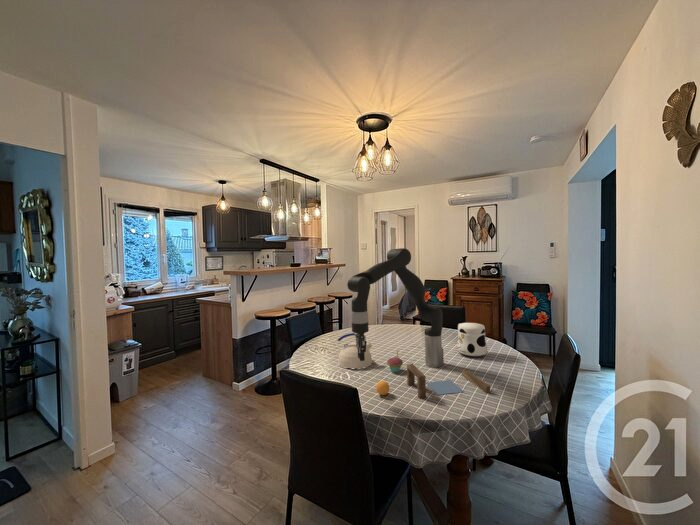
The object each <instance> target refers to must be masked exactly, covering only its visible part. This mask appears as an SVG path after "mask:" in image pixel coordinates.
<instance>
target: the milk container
mask: <svg viewBox="0 0 700 525" xmlns="http://www.w3.org/2000/svg"><path fill="white" fill-rule="evenodd" d="M457 336H458V338H457V343H456V349H457V351H458V353H459V354H461V355H462V356H466V357H472V358H476V357H477V358H479V357H483V356H486V354H487V352H488V345H487V341H486V328H485V325H484V324H482V323H477V322H462V323H458V324H457Z"/></svg>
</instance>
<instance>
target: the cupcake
mask: <svg viewBox="0 0 700 525" xmlns="http://www.w3.org/2000/svg"><path fill="white" fill-rule="evenodd" d="M396 350H397V351H396V356H394V357H390V358H388V359H387V360H386V365H388V366H389V369H390V371H391V372H393V373H399V372H400V370H401V367H402V366H403V365H404V363H403V360H402V359H401V358H400V357H398V356H399V349H396Z"/></svg>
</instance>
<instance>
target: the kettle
mask: <svg viewBox="0 0 700 525" xmlns="http://www.w3.org/2000/svg"><path fill="white" fill-rule="evenodd" d="M355 334H357V333H354V332H352V333H347V334H344V335H342V336H340V337H339V338H338V339H337V341H338V342H340V341H342V339H345V338H347V337H351V336H353V337H354V336H355ZM371 348H373V345H372V344H371V343H370V341H369V342H368V343H366V352H364V354H365V360H364V361H360V359H359V358H358V350H357V347H356V342H352V343H346V344H344V346H343V348H342V349H341V350H340V352H339V355H338V362H337V364H338V363H339V364H340V365H341V366H343V367H347V368H363V367H367V366H369V365H370V366H372V364H373V360H372V354H371V352H370V349H371ZM362 350H363V349H362ZM371 363H372V364H371ZM370 366H369V367H370ZM367 368H368V367H367ZM363 369H364V368H363Z"/></svg>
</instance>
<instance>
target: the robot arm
mask: <svg viewBox="0 0 700 525" xmlns="http://www.w3.org/2000/svg"><path fill="white" fill-rule="evenodd" d="M386 259H387V260H384V261H382V262H379V263H377V264H375V265H373V266H371V267H369V268H368V269H366V270H364V271H362V272H359V273H357V274H354V275H353V276H351V277H350V278H349V279H348V281H347V283H346V284H347V285H346V286H347V288H348V291H350V292H353V293H357V294H356V297H354V298H352V299H351V316H350V317H351V332H352V333H357V334H355V335H354V337H355V343H356V347H357V350H358V358H359V359H360V361H364V360H365V354H364V352H366V344H368V343H367V338H366V336H365V333H368V332H369V330H370V329H369V313H368V299H369V295H370V292H371V291H370V290H371V285H373V284H375V283H377V282H378V281H380V280H381V279H382V278H384V277H386V276H387V275H389V274H391V273H393V272H395V274H396V275H397V277H398V279H399V280H400V281H401V283H402V284H403V286H404V288H405V289H406V291H407V293H408V295H409V296H410V298H411V299H412V301H413V303H414V304H415V307H416V309H417V311H418V313H419V316H420V318H421V319H422V320H423V321H424V322H427V323H430V324H431V327H427V328H425V329H424V354H425V355H424V356H425V357H424V358H425V359H424V360H425V362H424V363H425V365H426V366H427V367H430V368H431V367H432V368H440V367H443V366H444V365H445V361H444V360H445V358H444V348H443V346H442V342H443V341H442V331H443V320H444V319H443V316H444V314H443V310H442V308H441V307H439V306H432V305H429V304H428V303H427V301H426V300H425V298H426V292H427V291H426V287H425V285H424V283H423V282H422V280H421V279H420V277H418V276H417V275H416V274H415V273H414V272H412V271H411V270H409V268H407V267H406V266H407V265H409V264H410V263H411V261H412V254H411V251H410V250H409V249H407V248H405V247H404V248H402V247H400V248H393V249H390V250H388V251H387V253H386ZM362 349H363V350H362Z"/></svg>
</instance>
